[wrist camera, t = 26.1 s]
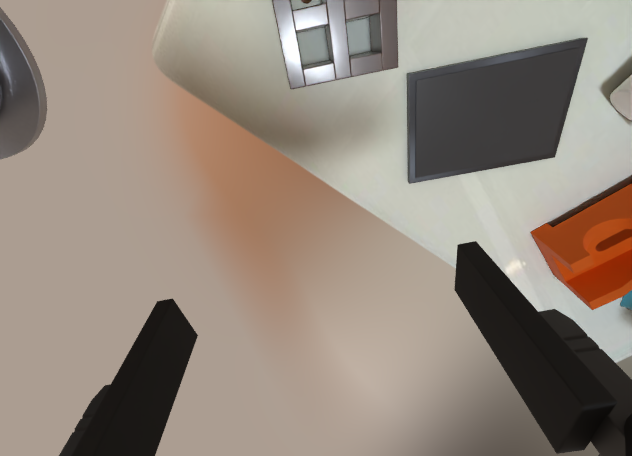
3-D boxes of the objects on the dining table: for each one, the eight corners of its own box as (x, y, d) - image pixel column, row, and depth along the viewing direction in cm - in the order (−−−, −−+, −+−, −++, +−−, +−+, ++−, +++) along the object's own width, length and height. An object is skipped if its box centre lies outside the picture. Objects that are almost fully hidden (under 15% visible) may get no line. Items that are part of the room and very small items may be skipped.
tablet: (407, 181, 42) (410, 184, 41) (406, 73, 34) (409, 74, 33) (550, 155, 41) (556, 157, 40) (582, 37, 33) (589, 37, 32)
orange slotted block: (553, 274, 53) (592, 310, 46) (530, 232, 48) (570, 264, 41) (666, 217, 47) (730, 248, 40) (654, 161, 42) (726, 185, 35)
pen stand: (291, 83, 34) (290, 89, 30) (266, -42, 28) (260, -57, 24) (386, 64, 34) (398, 67, 29) (380, -69, 28) (394, -89, 23)
